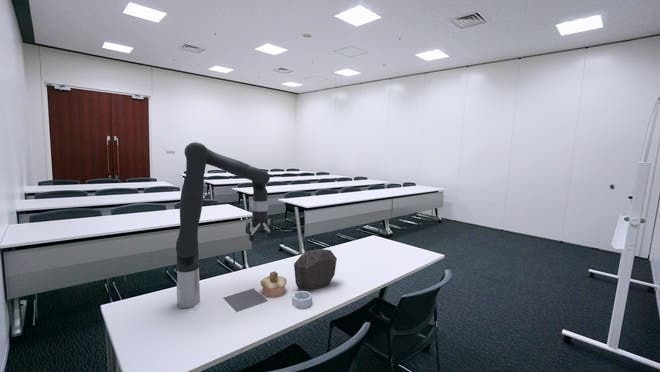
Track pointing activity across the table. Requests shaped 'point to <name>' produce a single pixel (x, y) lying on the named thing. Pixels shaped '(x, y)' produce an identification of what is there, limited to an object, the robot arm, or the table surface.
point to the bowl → (273, 291)
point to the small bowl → (302, 299)
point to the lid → (273, 281)
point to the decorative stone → (315, 269)
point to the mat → (245, 300)
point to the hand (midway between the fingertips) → (259, 240)
